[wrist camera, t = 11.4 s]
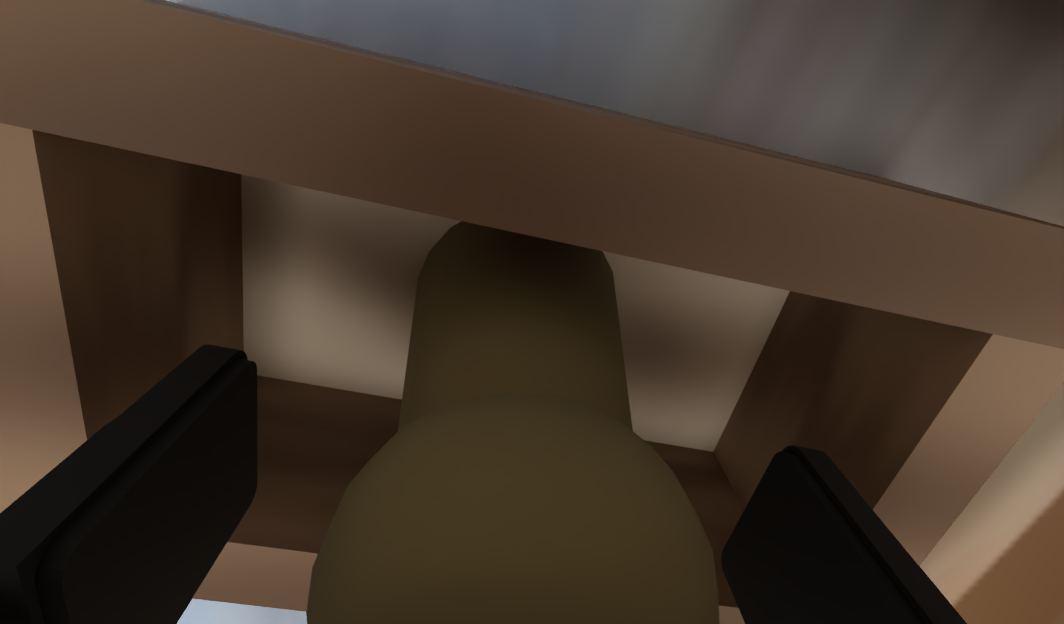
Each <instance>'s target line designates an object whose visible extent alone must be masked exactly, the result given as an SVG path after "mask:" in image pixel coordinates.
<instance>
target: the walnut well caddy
mask: <svg viewBox="0 0 1064 624" xmlns="http://www.w3.org/2000/svg"><path fill="white" fill-rule="evenodd" d="M461 221H464V222H468V223H473V224H478V225H482V226H487V227H492V228H497V229H501V230H506V231H511V232H515V233H520V234H525V235H529V236H534V237H539V238H544V239H548V240H553V241H558V242H562V243H567V244H572V245H576V246H581V247H586V248H591V249H595V250H600V251H602V252H603V253H604V255H605V257H606V259H607V261H608V263H609V265H610V267H611V269H612V271H613V277H614V285H615V292H616V300H617V308H618V316H619V324H620V332H621V340H622V348H623V356H624V364H625V372H626V380H627V388H628V396H629V404H630V412H631V420H632V428H633V432H634V433H636V434H637V435H638V436H639V437H641V438H642V439H643V440H644V441H645V442H647V443H648V444H649V445H650V446H652V447H653V448H654V449H655V451H656V452H657V453H658V454H659V455H660V457H661V458H662V459H663V460H664V461H665V462H666V464H667V465H668V466H669V467H670V468H671V470H672V471H673V472H674V473H675V475H676V477H677V479H678V481H679V482H680V484H681V486H682V488H683V490H684V491H685V493H686V495H687V497H688V499H689V500H690V502H691V504H692V506H693V507H694V509H695V511H696V513H697V515H698V517H699V520H700V522H701V524H702V527H703V529H704V531H705V534H706V536H707V538H708V540H709V543H710V545H711V547H712V550H713V557H714V564H715V572H716V580H717V588H718V600H719V622H720V624H745V622H744V620H743V617H742V615H741V613H740V610H739V608H738V605H737V603H736V601H735V598H734V596H733V594H732V591H731V589H730V586H729V584H728V582H727V579H726V577H725V575H724V572H723V569H722V564H721V555H722V551H723V548H724V546H725V545H726V543H727V541H728V539H729V537H730V535H731V534H732V532H733V530H734V528H735V526H736V524H737V523H738V521H739V519H740V517H741V515H742V513H743V511H744V510H745V508H746V506H747V504H748V502H749V500H750V499H751V497H752V495H753V493H754V491H755V489H756V487H757V486H758V484H759V482H760V480H761V478H762V476H763V475H764V473H765V471H766V469H767V467H768V465H769V464H770V462H771V460H772V458H773V456H774V455H775V454H776V453H778V452H781V451H782V450H783V449H784V448H786V447H787V446H791V445H793V446H799V447H805V448H811V449H817V450H820V451H823V452H824V453H825V454H827V455H828V456H829V458H830V459H831V460H832V461H833V462H834V464H835V465H836V466H837V467H838V468H839V470H840V471H841V472H842V473H843V475H844V476H845V477H846V478H847V479H848V481H849V482H850V483H851V484H852V485H853V487H854V488H855V489H856V490H857V491H858V493H859V494H860V495H861V496H862V497H863V499H864V500H865V501H866V502H867V504H868V505H869V506H870V507H871V508H872V510H873V511H874V512H875V513H876V514H877V516H878V517H879V518H880V519H881V520H882V522H883V523H884V524H885V525H886V527H887V528H888V529H889V530H890V531H891V533H892V534H893V535H894V536H895V537H896V539H897V540H898V541H899V542H900V543H901V545H902V546H903V547H904V548H905V549H906V551H907V552H908V553H909V554H910V556H911V557H912V558H913V559H914V560H915V562H916V563H917V564H918V565H919V566H920V564H921V563H922V562H923V561H924V559H925V558H926V557H927V555H928V554H929V553H930V552H931V550H932V549H933V548H934V547H935V545H936V544H937V543H938V541H939V540H940V539H941V538H942V536H943V535H944V534H945V533H946V531H947V530H948V529H949V527H950V526H951V525H952V524H953V522H954V521H955V520H956V519H957V517H958V516H959V515H960V513H961V512H962V511H963V510H964V508H965V507H966V506H967V505H968V503H969V502H970V501H971V499H972V498H973V497H974V496H975V494H976V493H977V492H978V491H979V489H980V488H981V487H982V485H983V484H984V483H985V482H986V480H987V479H988V478H989V477H990V475H991V474H992V473H993V471H994V470H995V469H996V468H997V466H998V465H999V464H1000V463H1001V461H1002V460H1003V459H1004V457H1005V456H1006V455H1007V454H1008V452H1009V451H1010V450H1011V449H1012V447H1013V446H1014V445H1015V443H1016V442H1017V441H1018V440H1019V438H1020V437H1021V436H1022V435H1023V433H1024V432H1025V431H1026V429H1027V428H1028V427H1029V426H1030V424H1031V423H1032V422H1033V421H1034V419H1035V418H1036V417H1037V415H1038V414H1039V413H1040V412H1041V410H1042V409H1043V408H1044V407H1045V405H1046V404H1047V403H1048V401H1049V400H1050V399H1051V398H1052V396H1053V395H1054V394H1055V393H1056V391H1057V390H1058V389H1059V387H1060V386H1061V385H1062V384H1063V382H1064V227H1063V226H1059V225H1055V224H1052V223H1048V222H1044V221H1041V220H1037V219H1033V218H1029V217H1026V216H1022V215H1018V214H1015V213H1011V212H1007V211H1003V210H1000V209H996V208H992V207H989V206H985V205H981V204H977V203H974V202H970V201H966V200H963V199H959V198H955V197H951V196H948V195H944V194H940V193H936V192H933V191H929V190H925V189H922V188H918V187H914V186H910V185H907V184H903V183H899V182H896V181H892V180H888V179H884V178H880V177H876V176H872V175H868V174H864V173H860V172H856V171H852V170H848V169H844V168H840V167H836V166H832V165H828V164H824V163H820V162H816V161H812V160H807V159H803V158H799V157H795V156H791V155H787V154H783V153H779V152H775V151H771V150H767V149H763V148H759V147H755V146H751V145H747V144H743V143H739V142H735V141H731V140H727V139H723V138H719V137H715V136H711V135H707V134H703V133H699V132H694V131H690V130H686V129H682V128H678V127H674V126H670V125H666V124H662V123H658V122H654V121H650V120H646V119H642V118H638V117H634V116H630V115H626V114H622V113H618V112H614V111H610V110H606V109H602V108H598V107H594V106H590V105H586V104H582V103H577V102H573V101H569V100H565V99H561V98H557V97H553V96H549V95H545V94H541V93H537V92H533V91H529V90H525V89H521V88H517V87H513V86H509V85H505V84H501V83H497V82H493V81H489V80H485V79H481V78H477V77H473V76H469V75H465V74H460V73H456V72H452V71H448V70H444V69H440V68H436V67H432V66H428V65H424V64H420V63H416V62H412V61H408V60H404V59H400V58H396V57H392V56H388V55H384V54H380V53H376V52H372V51H368V50H364V49H360V48H356V47H352V46H348V45H343V44H339V43H335V42H331V41H327V40H323V39H319V38H315V37H311V36H307V35H303V34H299V33H295V32H291V31H287V30H283V29H279V28H275V27H271V26H267V25H263V24H259V23H255V22H251V21H247V20H243V19H239V18H235V17H231V16H226V15H222V14H218V13H214V12H210V11H206V10H202V9H198V8H194V7H190V6H186V5H182V4H178V3H174V2H169V1H165V0H0V513H1V512H2V511H4V510H5V509H6V508H7V507H8V506H9V505H11V504H12V503H13V502H14V501H15V500H17V499H18V498H19V497H20V496H21V495H23V494H24V493H25V492H26V491H27V490H29V489H30V488H31V487H32V486H33V485H34V484H36V483H37V482H38V481H39V480H40V479H42V478H43V477H44V476H45V475H46V474H48V473H49V472H50V471H51V470H52V469H53V468H55V467H56V466H57V465H58V464H59V463H61V462H62V461H63V460H64V459H65V458H67V457H68V456H69V455H70V454H71V453H72V452H74V451H75V450H76V449H77V448H78V447H80V446H81V445H82V444H83V443H84V442H86V441H87V440H88V439H89V438H90V437H92V436H93V435H94V434H95V433H96V432H97V431H99V430H100V429H101V428H102V427H103V426H105V425H106V424H108V423H109V422H111V421H112V420H114V419H115V418H117V417H118V416H119V415H120V414H122V413H123V412H124V411H125V410H126V409H127V408H129V407H130V406H131V405H132V404H133V403H135V402H136V401H137V400H138V399H139V398H140V397H142V396H143V395H144V394H145V393H146V392H148V391H149V390H150V389H151V388H152V387H153V386H155V385H156V384H157V383H158V382H159V381H161V380H162V379H163V378H164V377H165V376H166V375H168V374H169V373H170V372H171V371H172V370H174V369H175V368H176V367H177V366H178V365H179V364H181V363H182V362H183V361H184V360H185V359H187V358H188V357H189V356H190V355H191V354H192V353H194V352H195V351H196V350H197V349H198V348H200V347H201V346H203V345H207V344H209V345H215V346H220V347H226V348H232V349H238V350H243V351H244V352H245V353H246V355H247V359H248V360H249V361H254V362H255V363H256V365H257V488H256V493H255V496H254V498H253V501H252V503H251V505H250V507H249V508H248V510H247V511H246V513H245V515H244V516H243V518H242V519H241V521H240V523H239V524H238V526H237V527H236V529H235V531H234V532H233V534H232V535H231V537H230V539H229V540H228V542H227V544H226V545H225V547H224V548H223V550H222V552H221V553H220V555H219V556H218V558H217V560H216V561H215V563H214V564H213V566H212V568H211V569H210V571H209V572H208V574H207V576H206V577H205V579H204V580H203V582H202V584H201V585H200V587H199V588H198V590H197V592H196V593H195V595H194V596H193V598H194V599H203V600H211V601H220V602H229V603H237V604H246V605H255V606H263V607H272V608H280V609H289V610H298V611H307V604H308V596H309V589H310V581H311V574H312V567H313V565H314V562H315V560H316V558H317V555H318V553H319V550H320V548H321V546H322V543H323V541H324V538H325V536H326V534H327V531H328V529H329V526H330V524H331V522H332V519H333V517H334V515H335V513H336V510H337V508H338V506H339V504H340V501H341V499H342V497H343V495H344V492H345V490H346V488H347V486H348V485H349V484H350V482H351V481H352V480H353V479H354V478H355V477H356V475H357V474H358V473H359V472H360V471H361V469H362V468H363V467H364V466H365V465H366V464H367V462H368V461H369V460H370V459H371V458H372V457H373V456H374V455H375V454H376V453H377V452H378V451H379V450H380V449H381V448H382V447H383V446H384V445H385V444H386V443H387V442H388V441H389V440H390V439H391V438H392V437H393V436H394V435H395V434H396V433H397V432H398V426H399V418H400V411H401V403H402V395H403V388H404V380H405V373H406V365H407V358H408V350H409V343H410V335H411V328H412V320H413V313H414V305H415V298H416V290H417V283H418V278H419V275H420V273H421V270H422V268H423V265H424V263H425V260H426V258H427V256H428V253H429V251H430V250H431V249H432V248H433V246H434V245H435V244H436V243H437V242H438V241H439V240H440V239H441V237H442V236H443V235H444V234H445V233H446V232H447V231H448V230H449V228H450V227H452V226H454V225H456V224H458V223H459V222H461Z"/></svg>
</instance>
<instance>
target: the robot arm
mask: <svg viewBox="0 0 1064 624" xmlns="http://www.w3.org/2000/svg"><path fill="white" fill-rule="evenodd" d="M256 488H257V365H256V363H255V362H254V361H249V360H248V359H247V355H246V353H245V352H244V351H243V350H238V349H232V348H226V347H220V346H215V345H209V344H207V345H203V346H201V347H200V348H198V349H197V350H196V351H195V352H194V353H192V354H191V355H190V356H189V357H188V358H187V359H185V360H184V361H183V362H182V363H181V364H179V365H178V366H177V367H176V368H175V369H174V370H172V371H171V372H170V373H169V374H168V375H166V376H165V377H164V378H163V379H162V380H161V381H159V382H158V383H157V384H156V385H155V386H153V387H152V388H151V389H150V390H149V391H148V392H146V393H145V394H144V395H143V396H142V397H140V398H139V399H138V400H137V401H136V402H135V403H133V404H132V405H131V406H130V407H129V408H127V409H126V410H125V411H124V412H123V413H122V414H120V415H119V416H118V417H117V418H115V419H114V420H112V421H111V422H109V423H108V424H106V425H105V426H103V427H102V428H101V429H100V430H99V431H97V432H96V433H95V434H94V435H93V436H92V437H90V438H89V439H88V440H87V441H86V442H84V443H83V444H82V445H81V446H80V447H78V448H77V449H76V450H75V451H74V452H72V453H71V454H70V455H69V456H68V457H67V458H65V459H64V460H63V461H62V462H61V463H59V464H58V465H57V466H56V467H55V468H53V469H52V470H51V471H50V472H49V473H48V474H46V475H45V476H44V477H43V478H42V479H40V480H39V481H38V482H37V483H36V484H34V485H33V486H32V487H31V488H30V489H29V490H27V491H26V492H25V493H24V494H23V495H21V496H20V497H19V498H18V499H17V500H15V501H14V502H13V503H12V504H11V505H9V506H8V507H7V508H6V509H5V510H4V511H2V512H1V513H0V624H177V622H178V620H179V619H180V617H181V616H182V614H183V612H184V611H185V609H186V608H187V606H188V604H189V603H190V601H191V600H192V598H193V596H194V595H195V593H196V592H197V590H198V588H199V587H200V585H201V584H202V582H203V580H204V579H205V577H206V576H207V574H208V572H209V571H210V569H211V568H212V566H213V564H214V563H215V561H216V560H217V558H218V556H219V555H220V553H221V552H222V550H223V548H224V547H225V545H226V544H227V542H228V540H229V539H230V537H231V535H232V534H233V532H234V531H235V529H236V527H237V526H238V524H239V523H240V521H241V519H242V518H243V516H244V515H245V513H246V511H247V510H248V508H249V507H250V505H251V503H252V501H253V498H254V496H255V493H256ZM721 564H722V569H723V572H724V575H725V577H726V579H727V582H728V584H729V586H730V589H731V591H732V594H733V596H734V598H735V601H736V603H737V605H738V608H739V610H740V613H741V615H742V617H743V620H744V622H745V624H967V623H966V622H965V621H964V620H963V619H962V617H961V616H960V615H959V614H958V612H957V611H956V610H955V609H954V608H953V606H952V605H951V604H950V603H949V601H948V600H947V599H946V598H945V597H944V595H943V594H942V593H941V592H940V591H939V589H938V588H937V587H936V586H935V585H934V583H933V582H932V581H931V580H930V579H929V577H928V576H927V575H926V574H925V572H924V571H923V570H922V569H921V568H920V566H919V565H918V564H917V563H916V562H915V560H914V559H913V558H912V557H911V556H910V554H909V553H908V552H907V551H906V549H905V548H904V547H903V546H902V545H901V543H900V542H899V541H898V540H897V539H896V537H895V536H894V535H893V534H892V533H891V531H890V530H889V529H888V528H887V527H886V525H885V524H884V523H883V522H882V520H881V519H880V518H879V517H878V516H877V514H876V513H875V512H874V511H873V510H872V508H871V507H870V506H869V505H868V504H867V502H866V501H865V500H864V499H863V497H862V496H861V495H860V494H859V493H858V491H857V490H856V489H855V488H854V487H853V485H852V484H851V483H850V482H849V481H848V479H847V478H846V477H845V476H844V475H843V473H842V472H841V471H840V470H839V468H838V467H837V466H836V465H835V464H834V462H833V461H832V460H831V459H830V458H829V456H828V455H827V454H825V453H824V452H823V451H820V450H817V449H811V448H805V447H799V446H793V445H791V446H787V447H786V448H784V449H783V450H782V451H781V452H778V453H776V454H775V455H774V456H773V458H772V460H771V462H770V464H769V465H768V467H767V469H766V471H765V473H764V475H763V476H762V478H761V480H760V482H759V484H758V486H757V487H756V489H755V491H754V493H753V495H752V497H751V499H750V500H749V502H748V504H747V506H746V508H745V510H744V511H743V513H742V515H741V517H740V519H739V521H738V523H737V524H736V526H735V528H734V530H733V532H732V534H731V535H730V537H729V539H728V541H727V543H726V545H725V546H724V548H723V551H722V555H721Z"/></svg>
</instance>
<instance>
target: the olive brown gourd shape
mask: <svg viewBox="0 0 1064 624" xmlns="http://www.w3.org/2000/svg"><path fill="white" fill-rule="evenodd" d="M306 613H307V624H720V622H719V600H718V588H717V580H716V572H715V564H714V557H713V550H712V547H711V545H710V543H709V540H708V538H707V536H706V534H705V531H704V529H703V527H702V524H701V522H700V520H699V517H698V515H697V513H696V511H695V509H694V507H693V506H692V504H691V502H690V500H689V499H688V497H687V495H686V493H685V491H684V490H683V488H682V486H681V484H680V482H679V481H678V479H677V477H676V475H675V473H674V472H673V471H672V470H671V468H670V467H669V466H668V465H667V464H666V462H665V461H664V460H663V459H662V458H661V457H660V455H659V454H658V453H657V452H656V451H655V449H654V448H653V447H652V446H650V445H649V444H648V443H647V442H645V441H644V440H643V439H642V438H641V437H639V436H638V435H637V434H636V433H634V432H633V428H632V420H631V412H630V404H629V396H628V388H627V380H626V372H625V364H624V356H623V348H622V340H621V332H620V324H619V316H618V308H617V300H616V292H615V285H614V277H613V271H612V269H611V267H610V265H609V263H608V261H607V259H606V257H605V255H604V253H603V252H602V251H600V250H595V249H591V248H586V247H581V246H576V245H572V244H567V243H562V242H558V241H553V240H548V239H544V238H539V237H534V236H529V235H525V234H520V233H515V232H511V231H506V230H501V229H497V228H492V227H487V226H482V225H478V224H473V223H468V222H464V221H461V222H459V223H458V224H456V225H454V226H452V227H450V228H449V230H448V231H447V232H446V233H445V234H444V235H443V236H442V237H441V239H440V240H439V241H438V242H437V243H436V244H435V245H434V246H433V248H432V249H431V250H430V251H429V253H428V256H427V258H426V260H425V263H424V265H423V268H422V270H421V273H420V275H419V278H418V283H417V290H416V298H415V305H414V313H413V320H412V328H411V335H410V343H409V350H408V358H407V365H406V373H405V380H404V388H403V395H402V403H401V411H400V418H399V426H398V432H397V433H396V434H395V435H394V436H393V437H392V438H391V439H390V440H389V441H388V442H387V443H386V444H385V445H384V446H383V447H382V448H381V449H380V450H379V451H378V452H377V453H376V454H375V455H374V456H373V457H372V458H371V459H370V460H369V461H368V462H367V464H366V465H365V466H364V467H363V468H362V469H361V471H360V472H359V473H358V474H357V475H356V477H355V478H354V479H353V480H352V481H351V482H350V484H349V485H348V486H347V488H346V490H345V492H344V495H343V497H342V499H341V501H340V504H339V506H338V508H337V510H336V513H335V515H334V517H333V519H332V522H331V524H330V526H329V529H328V531H327V534H326V536H325V538H324V541H323V543H322V546H321V548H320V550H319V553H318V555H317V558H316V560H315V562H314V565H313V567H312V574H311V581H310V589H309V596H308V604H307V611H306Z"/></svg>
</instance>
